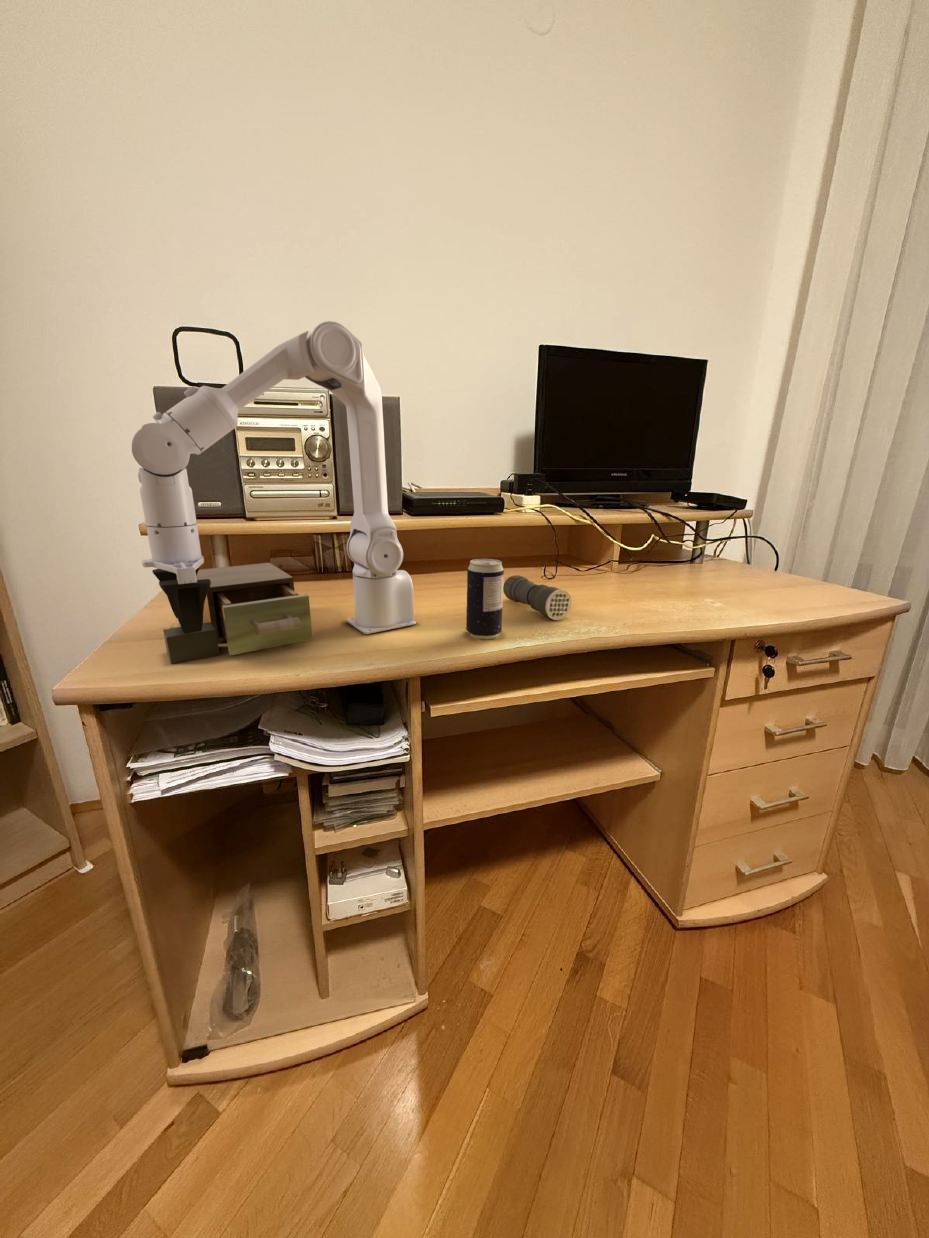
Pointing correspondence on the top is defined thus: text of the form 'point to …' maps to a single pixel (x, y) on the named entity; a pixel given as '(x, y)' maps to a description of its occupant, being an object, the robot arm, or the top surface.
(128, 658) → the top surface
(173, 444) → the robot arm
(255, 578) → the cabinet
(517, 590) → the flashlight
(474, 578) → the beverage can
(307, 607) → the drawer
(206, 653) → the charcoal rectangular block
